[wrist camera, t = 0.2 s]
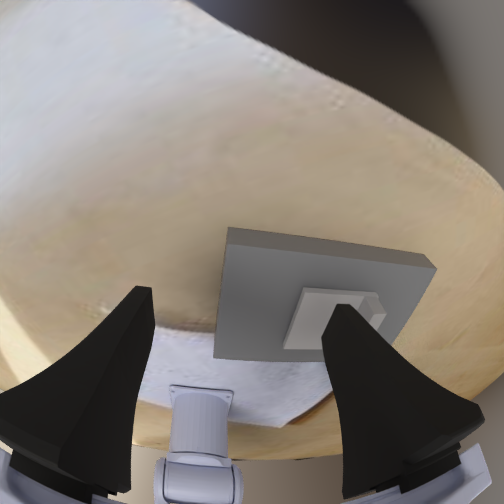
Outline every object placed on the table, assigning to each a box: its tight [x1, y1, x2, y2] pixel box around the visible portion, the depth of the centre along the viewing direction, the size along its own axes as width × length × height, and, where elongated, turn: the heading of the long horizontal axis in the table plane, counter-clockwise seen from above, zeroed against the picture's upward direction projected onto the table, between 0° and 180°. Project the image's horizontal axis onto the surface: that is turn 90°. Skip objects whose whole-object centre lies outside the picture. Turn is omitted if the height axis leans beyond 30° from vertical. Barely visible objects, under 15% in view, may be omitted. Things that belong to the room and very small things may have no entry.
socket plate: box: [213, 227, 437, 362], centre depth 22 cm, size 12×18×2 cm, turn 81°
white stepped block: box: [283, 287, 387, 349], centre depth 20 cm, size 6×6×3 cm
